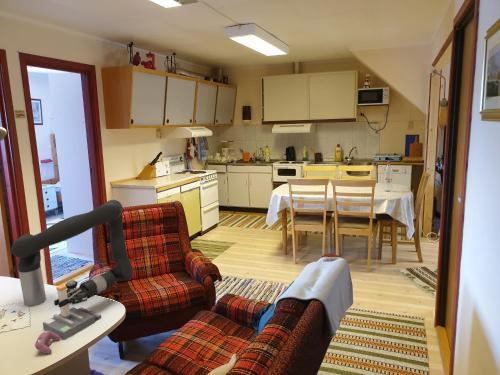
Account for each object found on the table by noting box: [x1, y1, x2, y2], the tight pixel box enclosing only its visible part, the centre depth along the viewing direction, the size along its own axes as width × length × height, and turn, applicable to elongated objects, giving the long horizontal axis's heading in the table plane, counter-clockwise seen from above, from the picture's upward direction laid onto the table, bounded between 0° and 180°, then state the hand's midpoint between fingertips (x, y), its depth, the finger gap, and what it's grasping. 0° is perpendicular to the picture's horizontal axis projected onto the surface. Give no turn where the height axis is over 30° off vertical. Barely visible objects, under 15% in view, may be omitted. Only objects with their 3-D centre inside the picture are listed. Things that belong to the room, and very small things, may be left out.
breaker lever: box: [55, 284, 70, 319], centre depth 159 cm, size 3×3×14 cm
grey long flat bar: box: [78, 306, 102, 322], centre depth 167 cm, size 14×3×1 cm, turn 58°
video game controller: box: [34, 330, 61, 355], centre depth 145 cm, size 10×5×7 cm, turn 5°
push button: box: [64, 279, 78, 297], centre depth 179 cm, size 7×5×10 cm
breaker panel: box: [42, 306, 96, 341], centre depth 159 cm, size 15×14×4 cm
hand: (57, 304), depth 156 cm, fingers closed on breaker lever, 2 cm apart
